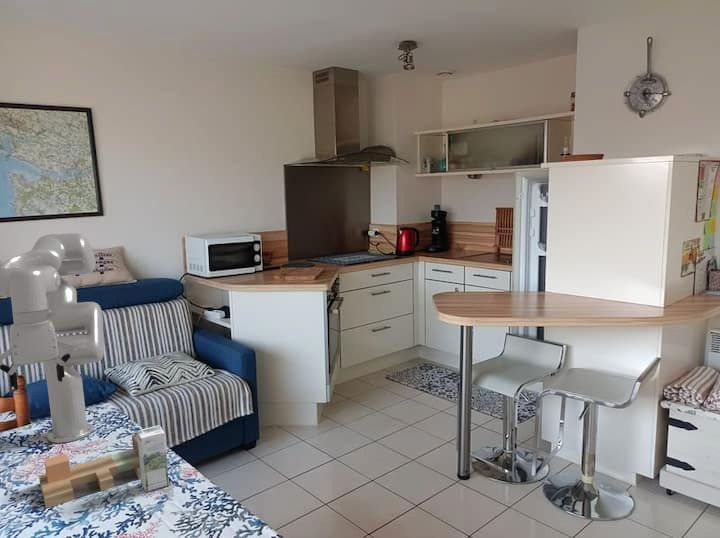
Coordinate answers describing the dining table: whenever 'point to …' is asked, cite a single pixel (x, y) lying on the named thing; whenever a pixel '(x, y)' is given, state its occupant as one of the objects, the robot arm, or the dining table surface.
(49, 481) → the orange block
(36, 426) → the dining table surface
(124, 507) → the dining table surface
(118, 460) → the board
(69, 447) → the dining table surface
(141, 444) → the syrup box
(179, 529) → the dining table surface
